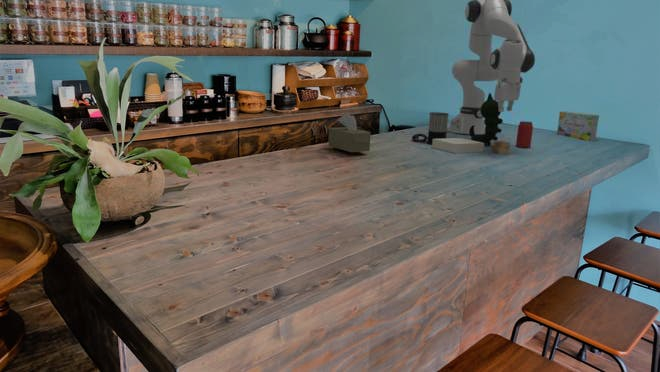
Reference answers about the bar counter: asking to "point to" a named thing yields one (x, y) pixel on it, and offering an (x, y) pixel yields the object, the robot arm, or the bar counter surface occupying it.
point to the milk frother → (435, 128)
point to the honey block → (501, 147)
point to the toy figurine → (488, 122)
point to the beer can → (524, 134)
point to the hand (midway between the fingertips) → (505, 111)
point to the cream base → (458, 145)
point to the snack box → (578, 125)
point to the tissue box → (349, 136)
